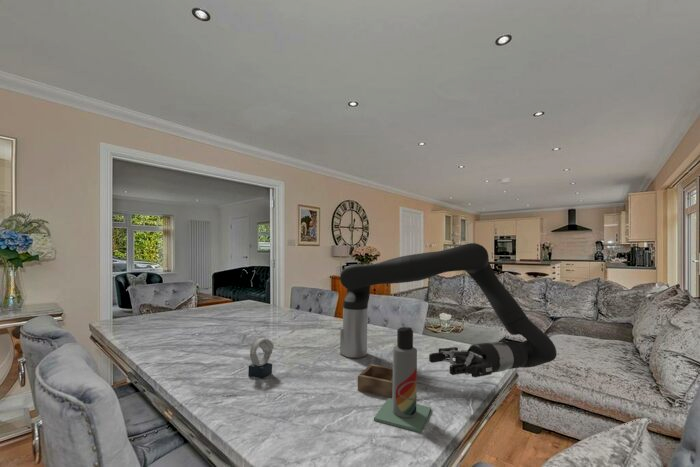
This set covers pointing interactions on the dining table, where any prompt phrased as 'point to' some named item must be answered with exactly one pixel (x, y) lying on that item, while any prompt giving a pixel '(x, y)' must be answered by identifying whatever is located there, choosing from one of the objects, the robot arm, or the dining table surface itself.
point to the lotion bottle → (404, 374)
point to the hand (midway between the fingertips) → (439, 363)
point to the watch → (261, 367)
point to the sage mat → (408, 423)
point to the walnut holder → (376, 380)
